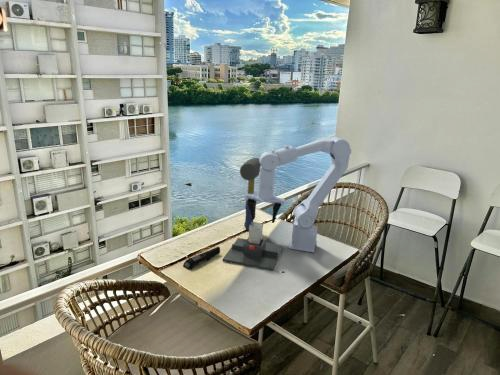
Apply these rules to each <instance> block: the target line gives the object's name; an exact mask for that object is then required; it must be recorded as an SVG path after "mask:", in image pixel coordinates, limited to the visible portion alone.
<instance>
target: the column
mask: <svg viewBox="0 0 500 375" xmlns="http://www.w3.org/2000/svg"><path fill="white" fill-rule="evenodd" d="M263 230H264V223H261V222H255V221H253V222H252V223H251V224H250V226H249V230H248V237H249V240H248V244H252V245H257V246H261V244H262V239H263Z"/></svg>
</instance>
